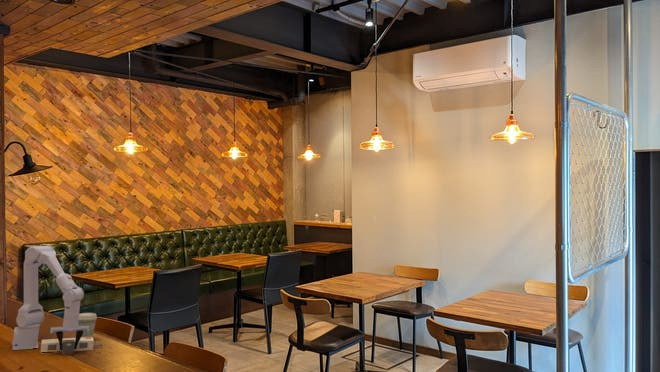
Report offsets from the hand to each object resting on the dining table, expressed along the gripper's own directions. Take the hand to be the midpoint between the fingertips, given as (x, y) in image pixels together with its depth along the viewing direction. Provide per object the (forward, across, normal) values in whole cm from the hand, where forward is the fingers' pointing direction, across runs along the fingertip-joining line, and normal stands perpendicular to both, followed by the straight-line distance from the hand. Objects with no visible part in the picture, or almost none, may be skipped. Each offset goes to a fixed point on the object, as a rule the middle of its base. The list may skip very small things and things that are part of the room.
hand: (68, 349), depth 210 cm
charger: (+2, 0, 0) cm, 2 cm away
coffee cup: (+2, +8, +21) cm, 22 cm away
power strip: (+2, +2, +6) cm, 6 cm away
